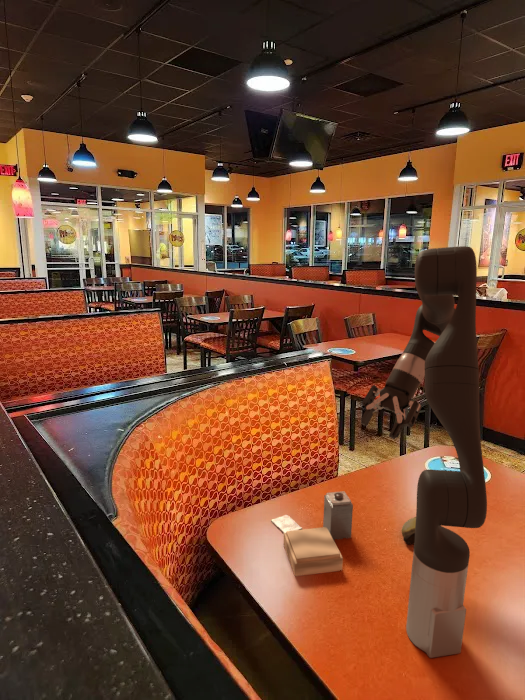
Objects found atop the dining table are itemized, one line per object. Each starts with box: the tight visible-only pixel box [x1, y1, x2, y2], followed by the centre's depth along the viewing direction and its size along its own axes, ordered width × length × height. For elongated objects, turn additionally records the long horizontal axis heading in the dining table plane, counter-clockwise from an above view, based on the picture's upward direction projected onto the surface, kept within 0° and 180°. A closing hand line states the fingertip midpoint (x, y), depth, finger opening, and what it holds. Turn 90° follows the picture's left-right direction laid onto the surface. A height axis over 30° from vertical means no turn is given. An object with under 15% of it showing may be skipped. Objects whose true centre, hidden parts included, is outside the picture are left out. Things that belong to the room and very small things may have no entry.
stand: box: [283, 526, 344, 577], centre depth 106 cm, size 11×11×4 cm
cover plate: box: [270, 514, 303, 535], centre depth 119 cm, size 7×5×1 cm
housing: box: [322, 490, 354, 541], centre depth 115 cm, size 6×6×11 cm
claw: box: [401, 516, 416, 545], centre depth 117 cm, size 20×10×3 cm, turn 136°
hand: (377, 431), depth 113 cm, fingers open, 8 cm apart
